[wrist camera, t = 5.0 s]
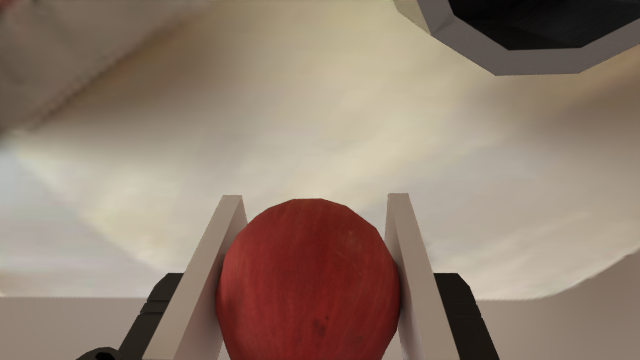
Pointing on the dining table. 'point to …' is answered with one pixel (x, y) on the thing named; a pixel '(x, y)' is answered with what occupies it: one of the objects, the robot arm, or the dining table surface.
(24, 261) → the dining table surface
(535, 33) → the pot
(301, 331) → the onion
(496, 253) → the dining table surface
